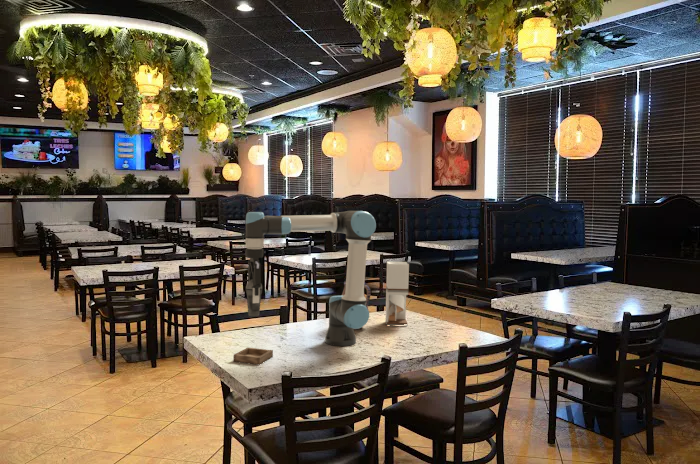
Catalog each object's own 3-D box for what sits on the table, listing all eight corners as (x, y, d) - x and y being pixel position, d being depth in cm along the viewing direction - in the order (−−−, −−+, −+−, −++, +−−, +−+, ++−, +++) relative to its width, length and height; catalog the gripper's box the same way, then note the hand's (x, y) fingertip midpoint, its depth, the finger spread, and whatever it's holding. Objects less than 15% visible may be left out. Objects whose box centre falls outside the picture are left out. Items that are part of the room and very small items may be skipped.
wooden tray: (272, 357, 238) (272, 350, 238) (259, 364, 226) (259, 357, 226) (247, 354, 242) (247, 347, 242) (233, 361, 230) (233, 354, 230)
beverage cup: (246, 313, 236) (246, 267, 235) (262, 313, 237) (263, 268, 236) (244, 317, 229) (244, 270, 228) (261, 317, 230) (262, 270, 228)
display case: (386, 326, 302) (388, 263, 300) (385, 322, 312) (386, 261, 310) (407, 326, 302) (408, 264, 300) (405, 322, 312) (406, 262, 310)
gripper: (241, 246, 239) (240, 297, 240) (250, 250, 221) (250, 306, 222) (257, 246, 242) (257, 296, 243) (268, 250, 224) (268, 305, 225)
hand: (253, 301), depth 233 cm, fingers closed on beverage cup, 7 cm apart
